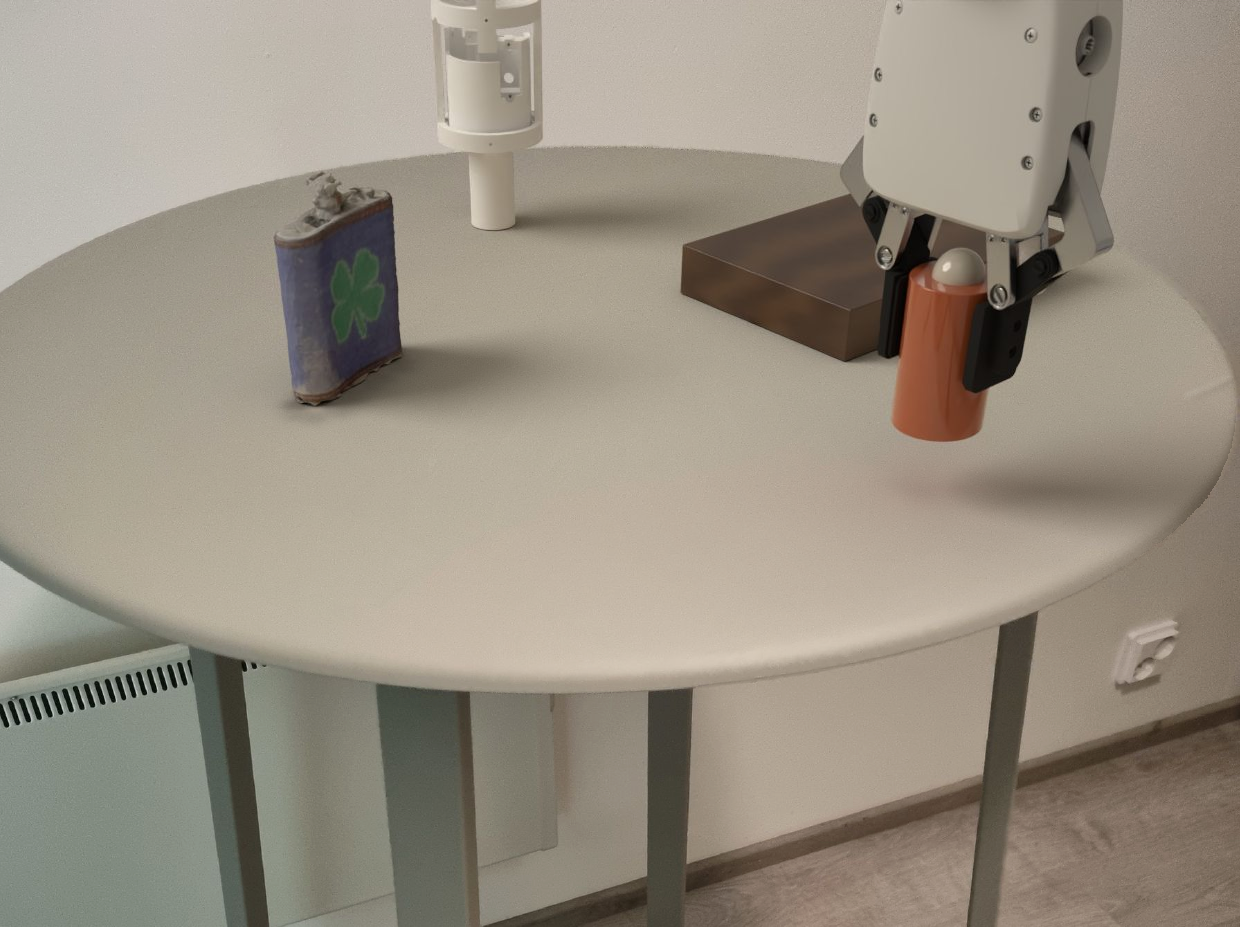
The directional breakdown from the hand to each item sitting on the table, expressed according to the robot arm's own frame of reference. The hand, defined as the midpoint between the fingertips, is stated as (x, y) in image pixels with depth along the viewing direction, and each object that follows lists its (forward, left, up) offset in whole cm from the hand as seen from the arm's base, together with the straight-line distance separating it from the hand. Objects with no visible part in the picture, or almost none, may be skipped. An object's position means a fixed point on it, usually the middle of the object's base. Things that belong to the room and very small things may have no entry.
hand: (945, 362), depth 71 cm
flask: (+30, +14, -7) cm, 34 cm away
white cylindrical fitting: (+45, -8, -7) cm, 46 cm away
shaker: (0, 0, -3) cm, 3 cm away
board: (+20, -19, -7) cm, 28 cm away
